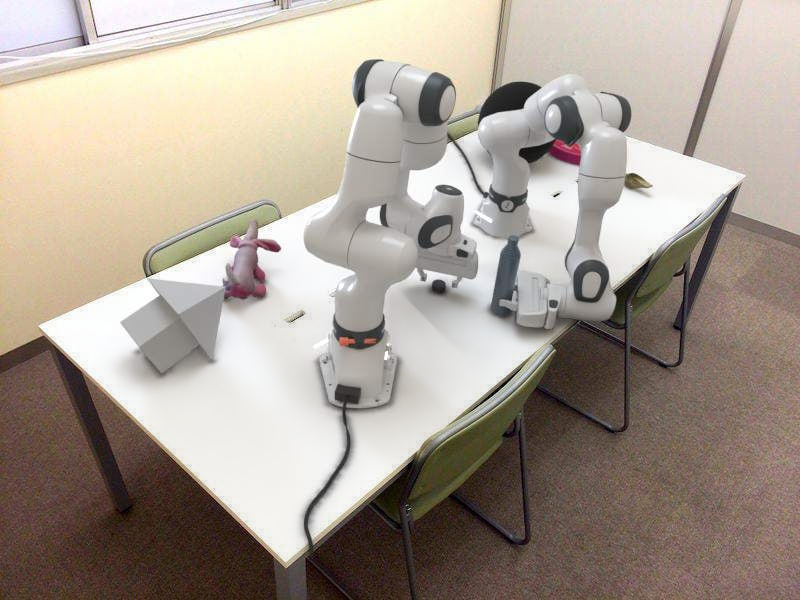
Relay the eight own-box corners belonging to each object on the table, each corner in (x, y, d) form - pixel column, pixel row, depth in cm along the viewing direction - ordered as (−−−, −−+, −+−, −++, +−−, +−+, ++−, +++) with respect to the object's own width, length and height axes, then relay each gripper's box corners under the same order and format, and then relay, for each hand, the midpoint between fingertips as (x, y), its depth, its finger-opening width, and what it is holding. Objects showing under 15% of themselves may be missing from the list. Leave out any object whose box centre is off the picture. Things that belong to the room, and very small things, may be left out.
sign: (588, 172, 247) (635, 153, 263) (590, 164, 245) (637, 145, 261) (529, 144, 265) (575, 128, 281) (530, 136, 263) (577, 120, 278)
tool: (597, 174, 249) (599, 163, 246) (610, 171, 251) (612, 160, 248) (638, 197, 232) (641, 185, 229) (652, 193, 234) (655, 182, 231)
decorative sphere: (465, 170, 243) (475, 91, 225) (481, 139, 266) (491, 65, 248) (546, 185, 237) (563, 105, 219) (556, 152, 260) (571, 77, 242)
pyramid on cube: (256, 326, 161) (227, 278, 148) (174, 389, 154) (136, 344, 140) (223, 293, 171) (193, 245, 157) (145, 351, 164) (106, 305, 150)
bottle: (486, 307, 179) (499, 235, 165) (501, 301, 181) (515, 230, 167) (498, 317, 176) (512, 245, 162) (513, 312, 178) (528, 240, 164)
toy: (299, 270, 187) (288, 223, 179) (243, 315, 171) (228, 266, 163) (250, 258, 196) (238, 213, 188) (193, 300, 180) (176, 253, 172)
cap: (444, 294, 183) (444, 288, 181) (430, 291, 183) (430, 286, 182) (446, 286, 186) (447, 280, 184) (433, 284, 186) (433, 278, 185)
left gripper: (402, 240, 174) (400, 282, 183) (478, 255, 170) (472, 297, 179) (409, 228, 179) (406, 269, 188) (482, 242, 175) (476, 284, 184)
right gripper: (552, 268, 180) (501, 262, 182) (555, 314, 164) (500, 307, 165) (547, 287, 184) (498, 281, 185) (551, 333, 168) (497, 326, 169)
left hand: (438, 283), depth 183 cm, fingers open, 8 cm apart
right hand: (499, 294), depth 175 cm, fingers closed on bottle, 5 cm apart
